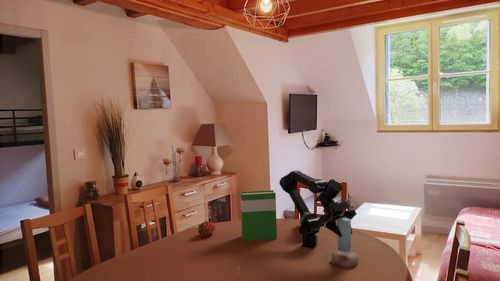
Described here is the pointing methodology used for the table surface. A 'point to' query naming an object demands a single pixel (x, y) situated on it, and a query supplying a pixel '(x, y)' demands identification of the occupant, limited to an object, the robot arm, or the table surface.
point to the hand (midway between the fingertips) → (346, 235)
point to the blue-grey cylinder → (344, 234)
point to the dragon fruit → (206, 229)
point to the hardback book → (258, 215)
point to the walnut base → (344, 259)
